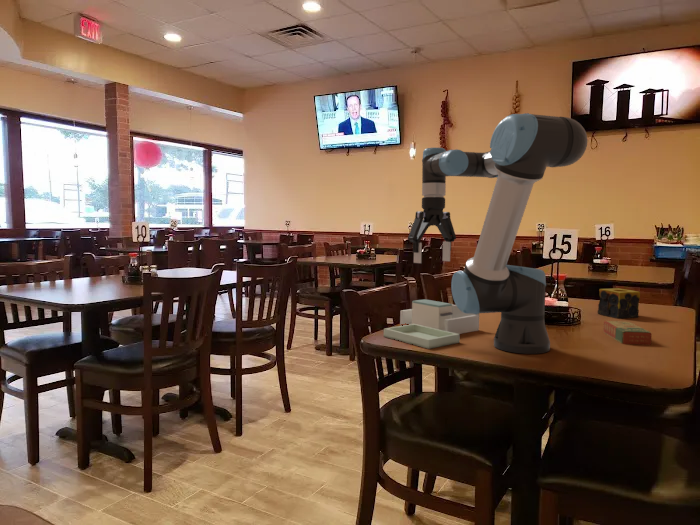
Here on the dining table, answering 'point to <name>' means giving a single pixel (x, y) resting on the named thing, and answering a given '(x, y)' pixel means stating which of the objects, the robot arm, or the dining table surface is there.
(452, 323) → the bay
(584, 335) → the dining table surface
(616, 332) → the carton
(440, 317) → the mint-topped white block
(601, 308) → the yellow and blue cube
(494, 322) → the dining table surface
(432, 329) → the tray
